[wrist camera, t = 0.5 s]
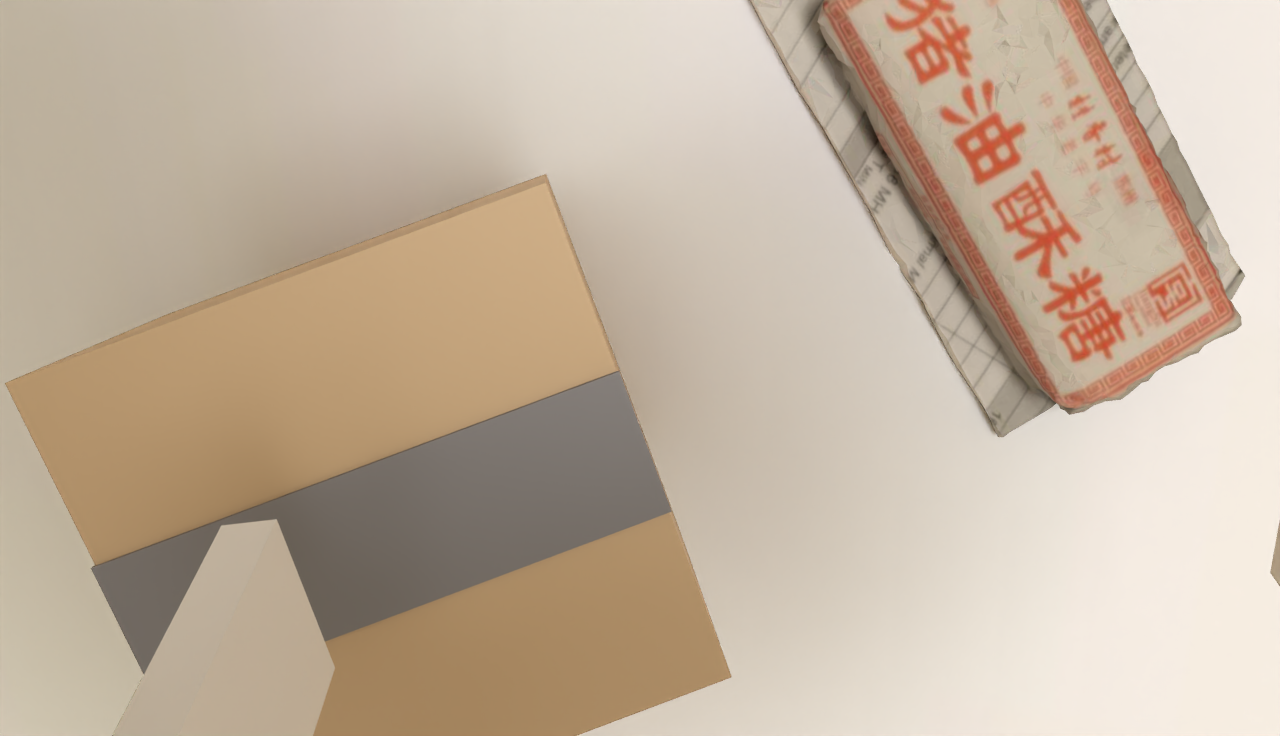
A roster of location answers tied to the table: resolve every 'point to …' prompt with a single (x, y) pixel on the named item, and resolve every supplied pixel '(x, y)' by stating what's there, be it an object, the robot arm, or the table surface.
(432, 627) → the brown cardboard block
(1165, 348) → the packaged product
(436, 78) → the table surface
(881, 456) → the table surface
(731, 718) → the table surface
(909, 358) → the table surface
